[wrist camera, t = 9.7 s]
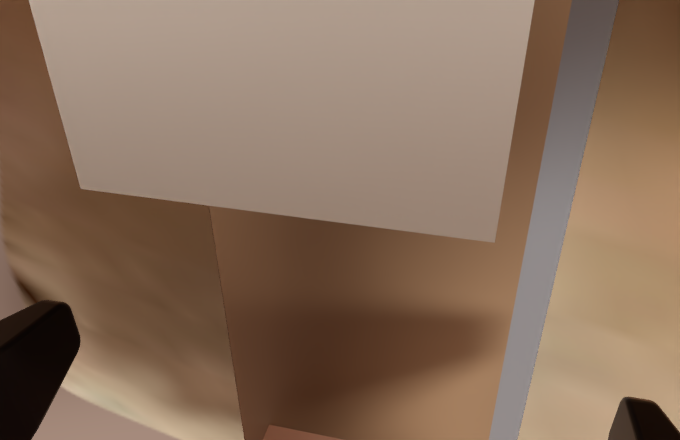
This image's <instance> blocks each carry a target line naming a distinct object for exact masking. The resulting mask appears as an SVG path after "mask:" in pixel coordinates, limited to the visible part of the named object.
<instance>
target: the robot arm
mask: <svg viewBox="0 0 680 440" xmlns="http://www.w3.org/2000/svg"><path fill="white" fill-rule="evenodd" d="M79 347H80V335H79V332H78V328H77V325H76V322H75V319H74V316H73V313H72V310H71V308H70V306H69V305H68V304H66V303H64V302H58V301H52V300H42V301H40V302H38V303H36V304H33V305H31V306H29V307H27V308H25V309H23V310H21V311H19V312H17V313H15V314H13V315H11V316H8V317H7V318H4V319H2V320H0V440H31V439H32V437H33V436H34V434H35V433H36V431H37V429H38V428H39V425H40V424H41V422H42V420H43V418H44V417H45V415H46V413H47V411H48V409H49V407H50V405H51V403H52V401H53V399H54V397H55V395H56V393H57V391H58V389H59V388H60V386H61V384H62V382H63V380H64V378H65V376H66V374H67V372H68V370H69V368H70V366H71V364H72V362H73V360H74V358H75V356H76V354H77V352H78V350H79ZM608 440H680V432H679V431H678V430H677V428H676V427H675V426H674V424H673V423H672V422H671V421H670V419H669V418H668V417H667V416H666V414H665V413H664V412H663V411H662V409H661V408H660V407H659V406H658V405H657V404H656V403H655V402H653V401H651V400H646V399H640V398H634V397H624V398H623V399H622V400H621V402H620V404H619V407H618V410H617V413H616V415H615V418H614V421H613V424H612V427H611V429H610V432H609V437H608Z"/></svg>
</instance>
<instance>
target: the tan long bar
mask: <svg viewBox="0 0 680 440" xmlns="http://www.w3.org/2000/svg"><path fill="white" fill-rule="evenodd" d="M571 3H572V0H535V2H534V8H533V14H532V20H531V26H530V32H529V38H528V44H527V50H526V56H525V62H524V68H523V74H522V81H521V87H520V93H519V99H518V105H517V111H516V117H515V123H514V129H513V135H512V141H511V147H510V153H509V159H508V165H507V171H506V178H505V184H504V190H503V196H502V202H501V208H500V214H499V220H498V226H497V232H496V238H495V243H492V242H485V241H477V240H469V239H462V238H454V237H446V236H439V235H431V234H423V233H416V232H408V231H400V230H392V229H385V228H377V227H369V226H362V225H354V224H346V223H339V222H331V221H323V220H316V219H308V218H300V217H292V216H285V215H277V214H269V213H262V212H254V211H246V210H239V209H231V208H223V207H216V206H209V210H210V217H211V223H212V230H213V236H214V243H215V250H216V256H217V263H218V269H219V276H220V282H221V289H222V295H223V302H224V308H225V315H226V321H227V328H228V334H229V341H230V347H231V354H232V361H233V367H234V374H235V380H236V387H237V393H238V400H239V406H240V413H241V419H242V426H243V432H244V439H245V440H263V438H264V436H265V433H266V431H267V429H268V426H269V425H274V426H279V427H284V428H288V429H293V430H298V431H303V432H308V433H313V434H318V435H323V436H328V437H333V438H338V439H343V440H489V436H490V431H491V426H492V420H493V415H494V410H495V404H496V399H497V394H498V389H499V383H500V378H501V373H502V367H503V362H504V357H505V352H506V346H507V341H508V336H509V330H510V325H511V320H512V315H513V309H514V304H515V299H516V293H517V288H518V283H519V278H520V272H521V267H522V262H523V257H524V251H525V246H526V241H527V235H528V230H529V225H530V220H531V214H532V209H533V204H534V198H535V193H536V188H537V183H538V177H539V172H540V167H541V161H542V156H543V151H544V146H545V140H546V135H547V130H548V124H549V119H550V114H551V109H552V103H553V98H554V93H555V88H556V82H557V77H558V72H559V66H560V61H561V56H562V51H563V45H564V40H565V35H566V29H567V24H568V19H569V14H570V8H571Z"/></svg>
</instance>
